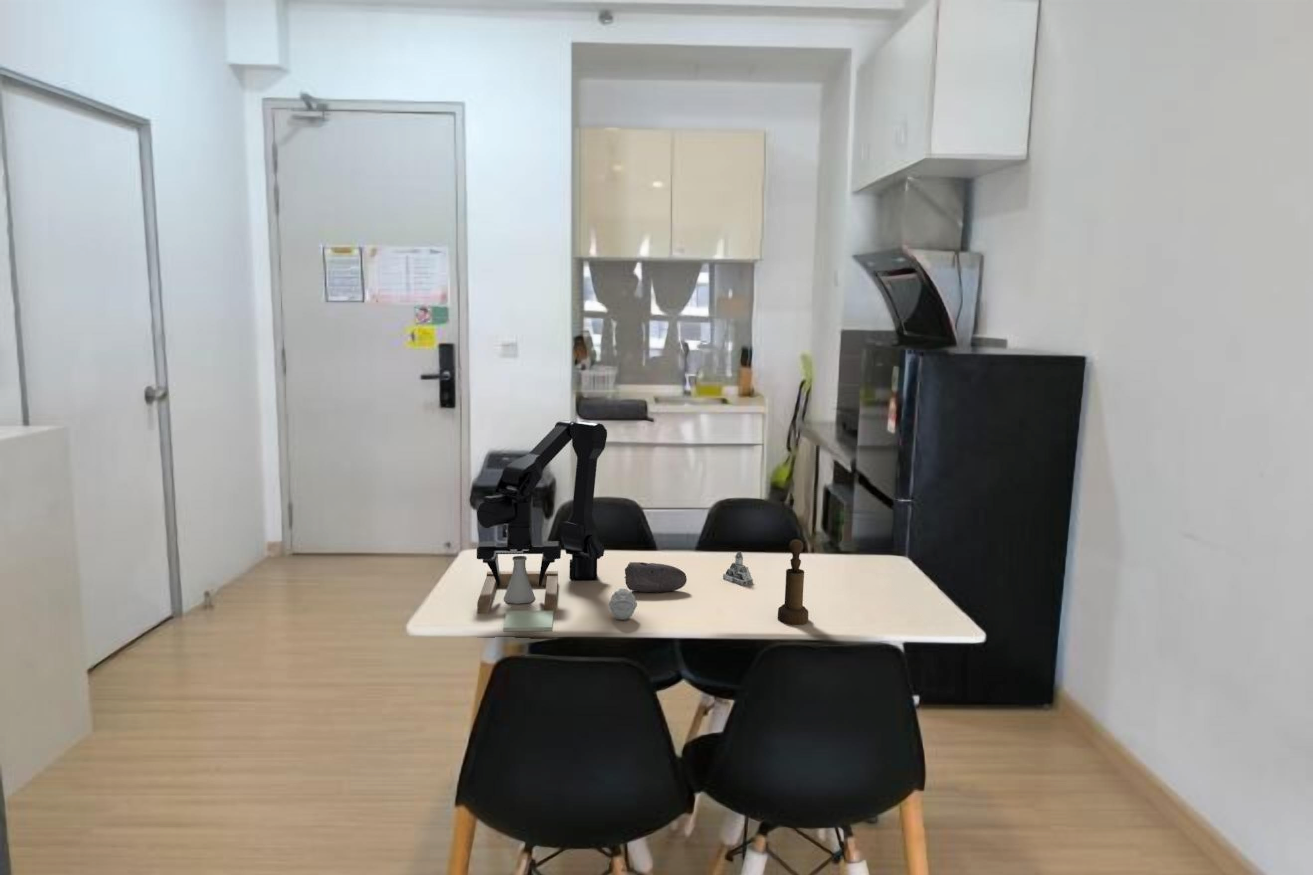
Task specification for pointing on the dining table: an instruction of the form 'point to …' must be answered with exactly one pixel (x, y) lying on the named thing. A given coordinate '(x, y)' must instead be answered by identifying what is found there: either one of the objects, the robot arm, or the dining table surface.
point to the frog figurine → (622, 604)
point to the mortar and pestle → (794, 590)
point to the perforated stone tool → (653, 577)
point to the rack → (505, 576)
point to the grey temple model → (738, 572)
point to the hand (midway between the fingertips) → (519, 586)
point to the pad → (528, 621)
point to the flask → (519, 584)
